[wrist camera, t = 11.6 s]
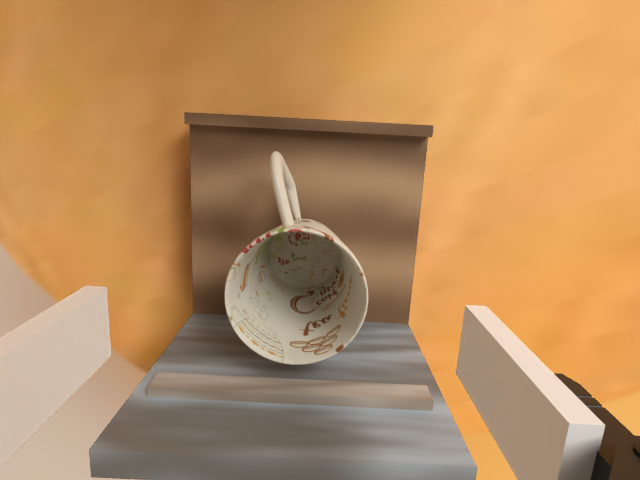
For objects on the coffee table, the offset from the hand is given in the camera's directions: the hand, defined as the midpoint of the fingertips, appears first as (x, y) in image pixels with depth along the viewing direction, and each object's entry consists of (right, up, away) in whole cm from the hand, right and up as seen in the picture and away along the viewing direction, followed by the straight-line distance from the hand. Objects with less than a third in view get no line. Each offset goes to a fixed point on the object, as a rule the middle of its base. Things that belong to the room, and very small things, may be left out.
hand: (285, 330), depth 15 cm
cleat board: (0, +5, +22) cm, 22 cm away
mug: (-1, +4, +18) cm, 19 cm away
